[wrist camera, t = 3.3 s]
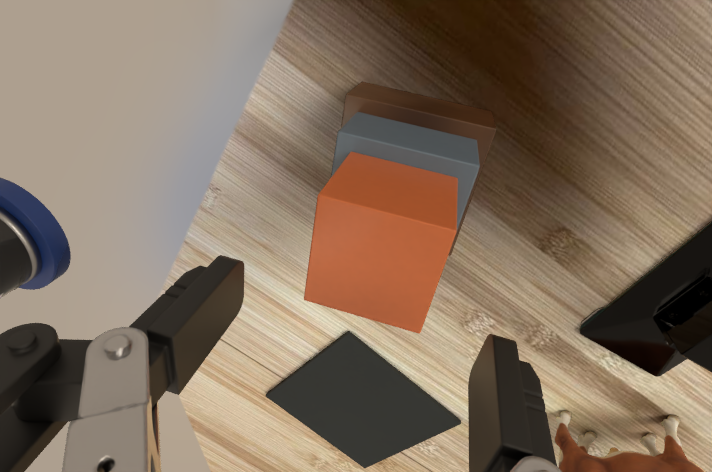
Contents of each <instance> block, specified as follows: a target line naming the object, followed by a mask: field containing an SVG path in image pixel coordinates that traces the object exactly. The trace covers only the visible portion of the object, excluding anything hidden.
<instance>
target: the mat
mask: <svg viewBox="0 0 712 472" xmlns="http://www.w3.org/2000/svg"><path fill="white" fill-rule="evenodd" d="M266 397H267V398H269V399H270V400H272V401H273V402H274V403H276V404H277V405H278V406H280V407H281V408H283V409H284V410H285V411H287V412H288V413H289V414H291V415H292V416H294V417H295V418H296V419H298V420H299V421H300V422H302V423H303V424H305V425H306V426H307V427H309V428H310V429H311V430H313V431H314V432H316V433H317V434H318V435H320V436H321V437H322V438H324V439H325V440H327V441H328V442H329V443H331V444H332V445H333V446H335V447H336V448H338V449H339V450H340V451H342V452H343V453H344V454H346V455H347V456H349V457H350V458H351V459H353V460H354V461H355V462H357V463H358V464H360V465H361V466H362V467H364V468H366V467H369V466H371V465H373V464H375V463H377V462H379V461H382V460H384V459H386V458H388V457H390V456H392V455H395V454H397V453H399V452H401V451H403V450H405V449H408V448H410V447H412V446H414V445H416V444H418V443H420V442H423V441H425V440H427V439H429V438H431V437H433V436H436V435H438V434H440V433H442V432H444V431H446V430H449V429H451V428H453V427H455V426H457V425H459V424H461V420H460V419H458V418H457V417H456V416H455V415H453V414H452V413H451V412H450V411H448V410H447V409H446V408H445V407H443V406H442V405H441V404H440V403H438V402H437V401H436V400H435V399H433V398H432V397H431V396H430V395H428V394H427V393H426V392H425V391H423V390H422V389H421V388H420V387H418V386H417V385H416V384H415V383H413V382H412V381H411V380H410V379H408V378H407V377H406V376H405V375H403V374H402V373H401V372H400V371H398V370H397V369H396V368H395V367H393V366H392V365H391V364H390V363H388V362H387V361H386V360H385V359H383V358H382V357H381V356H380V355H378V354H377V353H376V352H375V351H373V350H372V349H371V348H370V347H368V346H367V345H366V344H365V343H363V342H362V341H361V340H360V339H358V338H357V337H356V336H355V335H353V334H352V333H351V332H350V331H348V332H347V333H345V334H344V335H343V336H341V337H340V338H339V339H337V340H336V341H335V342H333V343H332V344H331V345H329V346H328V347H327V348H326V349H324V350H323V351H322V352H320V353H319V354H318V355H316V356H315V357H314V358H312V359H311V360H310V361H308V362H307V363H306V364H305V365H303V366H302V367H301V368H299V369H298V370H297V371H295V372H294V373H293V374H291V375H290V376H289V377H288V378H286V379H285V380H284V381H282V382H281V383H280V384H278V385H277V386H276V387H274V388H273V389H272V390H270V391H269V392H268V393H267V394H266Z"/></svg>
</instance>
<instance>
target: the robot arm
mask: <svg viewBox="0 0 712 472" xmlns="http://www.w3.org/2000/svg"><path fill="white" fill-rule="evenodd" d="M41 267H42V259H41V254H40V251H39V249H38V246H37V244H36V242H35V241H34V239H33V237H32V236H31V235H30V233H29V232H28V231H27V229H26V228H25V227H24V226H23V225H22V224H21V223H20V222H19V221H18V220H17V219H16V218H15V217H14V216H13V215H12V214H10V213H9V212H8V211H6V210H5V209H3V208H2V207H0V298H1V297H3V296H5V295H6V294H8V293H9V292H11V291H13V290H15V289H16V288H18V287H20V286H21V285H23V284H25V283H27V282H29V281H30V280H32V279H33V278H35V277H36V276H37V275H38V274H39V273H40V271H41ZM243 298H244V263H243V262H242V261H240V260H236V259H233V258H229V257H226V256H222V255H220V256H218V257H217V258H216V259H215V260H214V261H213V262H212V263H211V264H210V265H209V266H208V267H203V266H198V267H196V268H194V269H192V270H190V271H188V272H186V273H184V274H183V275H182V276H181V277H180V278H179V279H178V280H177V281H176V282H175V283H174V285H173V286H171V287H170V288H169V289H168V290H167V291H166V292H165V294H163V295H162V296H161V297H160V298H158V299H157V300H156V301H155V302H154V303H153V304H152V305H151V306H150V307H149V308H148V309H147V310H146V311H145V312H144V313H143V314H142V315H141V316H140V317H139V318H138V319H137V320H136V321H135V322H134V323H133V324H131V325H130V326H129V327H122V328H116V329H112V330H109V331H107V332H104V333H103V334H101V335H99V336H98V337H96V338H95V339H94V340H67V339H64V340H63V339H58V335H57V333H56V330H55V329H54V328H53V327H51V326H49V325H47V324H42V323H30V324H24V325H20V326H17V327H14V328H12V329H10V330H7V331H6V332H4V333H2V334H0V472H24V471H25V470H26V469H27V468H28V467H29V466H30V465H31V463H32V462H33V461H34V460H35V459H36V458H37V456H38V455H39V454H40V453H41V452H42V451H43V450H44V448H45V447H46V446H47V445H48V444H49V443H50V442H51V440H52V439H53V438H54V437H55V436H56V435H57V433H58V432H59V431H60V430H61V429H62V428H63V426H64V425H65V424H66V423H67V422H68V421H71V422H70V425H69V428H68V433H67V440H66V447H65V453H64V461H63V467H62V472H161V461H160V435H159V411H158V400H159V399H160V398H161V396H162V395H163V394H164V392H165V391H169V392H172V393H175V394H178V395H179V394H180V393H181V391H182V390H183V388H184V387H185V386H186V384H187V383H188V382H189V380H190V379H191V378H192V376H193V375H194V373H195V372H196V371H197V369H198V368H199V367H200V365H201V364H202V362H203V361H204V360H205V358H206V357H207V356H208V354H209V353H210V352H211V350H212V349H213V347H214V346H215V345H216V343H217V342H218V341H219V339H220V338H221V336H222V335H223V334H224V332H225V331H226V330H227V328H228V327H229V325H230V324H231V323H232V321H233V320H234V319H235V317H236V316H237V314H238V313H239V311H240V308H241V306H242V303H243ZM542 396H543V394H542V389H541V384H540V379H539V378H538V376H537V374H536V373H535V371H534V370H533V368H532V366H531V365H530V363H527V362H523V361H520V360H519V356H518V349H517V344H516V342H515V341H513V340H510V339H506V338H503V337H499V336H496V335H492V334H489V335H488V336H487V338H486V340H485V342H484V344H483V346H482V348H481V350H480V352H479V354H478V357H477V359H476V361H475V363H474V365H473V367H472V370H471V373H470V377H469V385H468V397H469V472H562V471H561V470H560V469H559V468H558V467H557V464H556V460H555V455H554V449H553V444H552V439H551V434H550V429H549V424H548V419H547V414H546V412H545V404H544V399H542Z"/></svg>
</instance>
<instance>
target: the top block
mask: <svg viewBox="0 0 712 472" xmlns="http://www.w3.org/2000/svg"><path fill="white" fill-rule="evenodd" d="M457 191H458V178H456V177H452V176H448V175H444V174H440V173H436V172H432V171H428V170H424V169H420V168H416V167H412V166H408V165H404V164H400V163H396V162H392V161H388V160H384V159H380V158H376V157H371V156H367V155H363V154H359V153H355V152H350V153H349V155H348V156H347V157H346V159H345V160H344V161H343V163H342V164H341V165H340V167H339V168H338V169H337V171H336V172H335V173H334V175H333V176H332V177H331V178H330V180H329V181H328V182H327V184H326V185H325V186H324V188H323V189H322V190H321V192H320V193H319V194H318V197H317V205H316V212H315V220H314V227H313V235H312V242H311V250H310V257H309V265H308V273H307V280H306V288H305V295H304V300H306V301H310V302H313V303H316V304H320V305H323V306H327V307H330V308H334V309H337V310H340V311H344V312H347V313H351V314H354V315H357V316H361V317H364V318H368V319H371V320H375V321H378V322H381V323H385V324H388V325H392V326H395V327H399V328H402V329H405V330H409V331H412V332H416V333H420V332H421V329H422V327H423V324H424V321H425V318H426V316H427V313H428V310H429V307H430V304H431V302H432V299H433V296H434V293H435V290H436V288H437V285H438V282H439V279H440V277H441V274H442V271H443V268H444V265H445V263H446V260H447V257H448V254H449V252H450V249H451V246H452V243H453V240H454V238H455V235H456V232H457Z"/></svg>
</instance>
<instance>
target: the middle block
mask: <svg viewBox="0 0 712 472" xmlns="http://www.w3.org/2000/svg"><path fill="white" fill-rule="evenodd" d="M350 152H355V153H359V154H363V155H367V156H371V157H376V158H380V159H384V160H388V161H392V162H396V163H400V164H404V165H408V166H412V167H416V168H420V169H424V170H428V171H432V172H436V173H440V174H444V175H448V176H452V177H456V178H458V191H457V229H458V226H459V224H460V221H461V218H462V215H463V213H464V210H465V207H466V204H467V201H468V199H469V196H470V193H471V190H472V188H473V185H474V182H475V179H476V176H477V174H478V171H479V168H480V164H479V155H478V146H477V140H475V139H471V138H466V137H462V136H458V135H454V134H449V133H445V132H441V131H437V130H433V129H428V128H424V127H420V126H416V125H412V124H407V123H403V122H399V121H395V120H390V119H386V118H382V117H378V116H374V115H369V114H365V113H361V112H357V113H356V114H355V115H354V116H353V117H352V118H351V119H350V120H349V121H348V122H347V123H346V124H345V125H344V126H343V127H342V128H341V129H340V130H339V131H338V134H337V140H336V147H335V154H334V160H333V167H332V174H331V177H332V176H333V175H334V173H335V172H336V171H337V169H338V168H339V167H340V165H341V164H342V163H343V161H344V160H345V159H346V157H347V156H348V155H349V153H350Z"/></svg>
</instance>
